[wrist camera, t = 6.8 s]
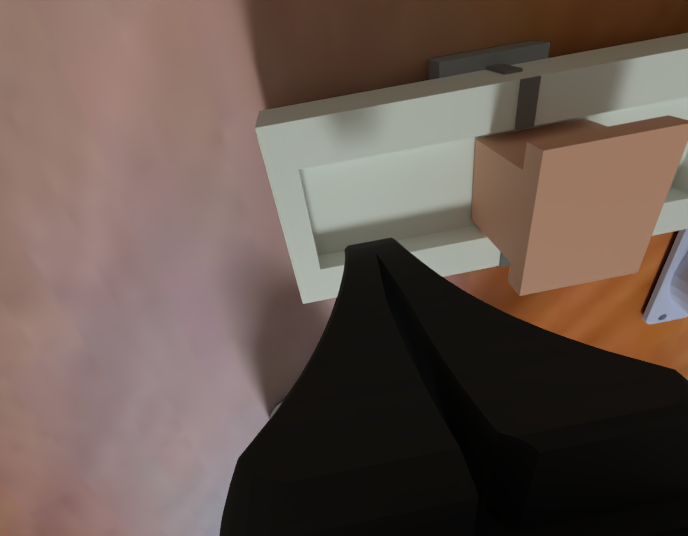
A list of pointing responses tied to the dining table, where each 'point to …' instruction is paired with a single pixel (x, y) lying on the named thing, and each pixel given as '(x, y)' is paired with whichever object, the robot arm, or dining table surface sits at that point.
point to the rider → (575, 197)
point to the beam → (448, 149)
